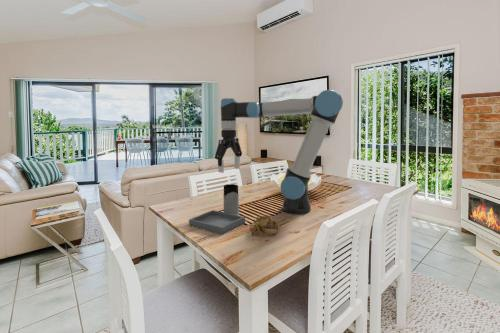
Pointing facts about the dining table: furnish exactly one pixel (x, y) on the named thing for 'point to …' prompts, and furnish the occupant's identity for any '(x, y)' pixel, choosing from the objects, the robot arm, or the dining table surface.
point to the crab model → (263, 223)
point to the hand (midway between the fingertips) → (229, 170)
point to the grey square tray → (217, 221)
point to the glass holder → (231, 199)
